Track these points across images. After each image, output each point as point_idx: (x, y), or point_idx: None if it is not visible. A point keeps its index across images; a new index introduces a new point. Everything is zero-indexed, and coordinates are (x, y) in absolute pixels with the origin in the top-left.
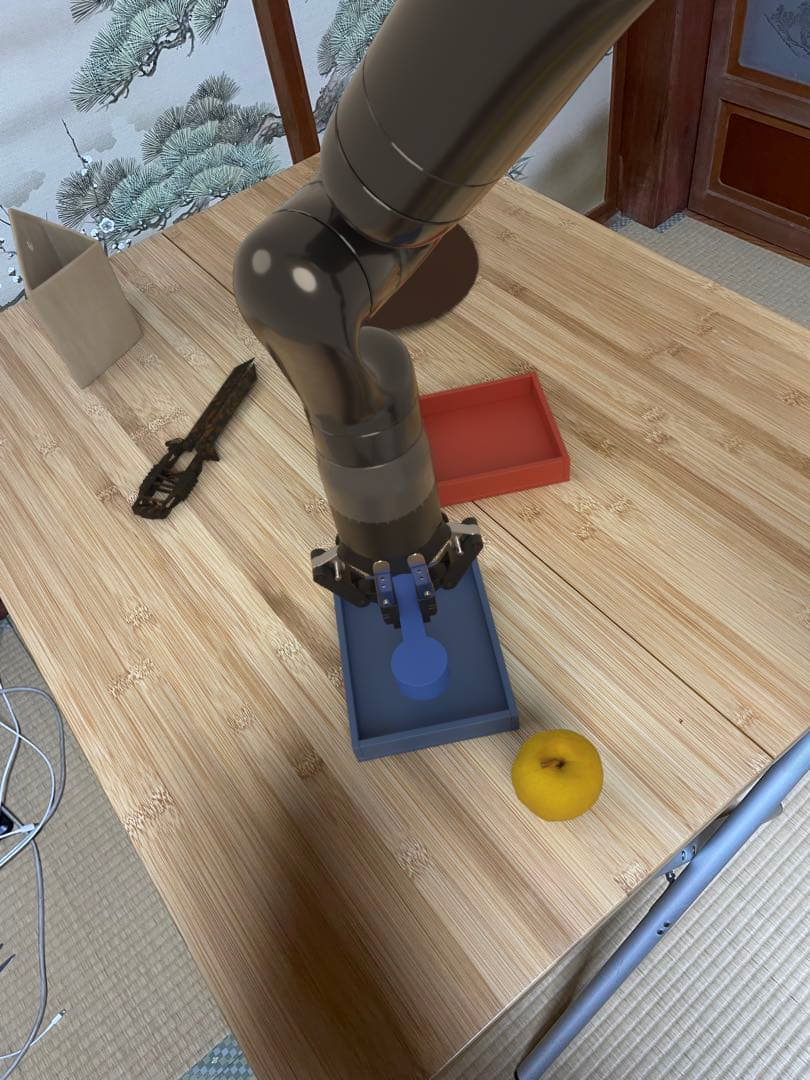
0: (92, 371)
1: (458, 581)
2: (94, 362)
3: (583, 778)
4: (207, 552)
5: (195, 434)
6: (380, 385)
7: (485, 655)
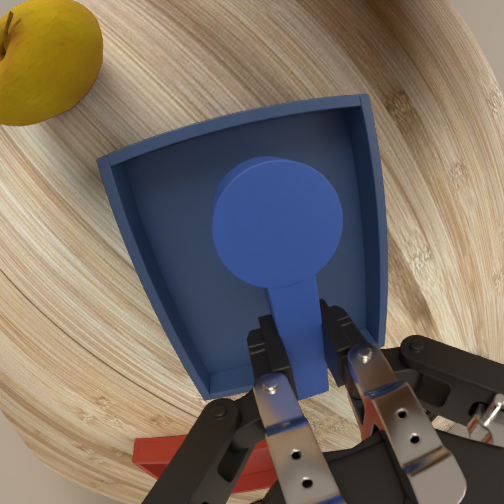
0: None
1: (197, 423)
2: (463, 426)
3: None
4: (455, 343)
5: (434, 416)
6: None
7: (171, 267)
